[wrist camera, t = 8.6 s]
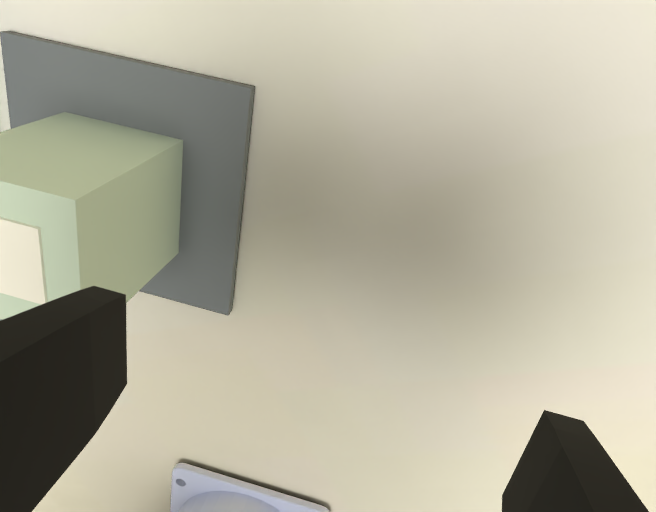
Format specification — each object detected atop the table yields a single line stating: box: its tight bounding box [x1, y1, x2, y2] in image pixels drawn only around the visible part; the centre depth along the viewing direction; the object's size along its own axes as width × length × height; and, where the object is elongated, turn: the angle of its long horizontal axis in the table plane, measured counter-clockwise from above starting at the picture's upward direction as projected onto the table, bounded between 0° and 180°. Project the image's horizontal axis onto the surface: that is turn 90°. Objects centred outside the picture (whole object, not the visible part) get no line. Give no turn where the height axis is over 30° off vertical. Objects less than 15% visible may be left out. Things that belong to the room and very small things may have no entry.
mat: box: [0, 31, 255, 315], centre depth 20 cm, size 9×9×1 cm
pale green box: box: [0, 112, 183, 320], centre depth 17 cm, size 4×4×6 cm
